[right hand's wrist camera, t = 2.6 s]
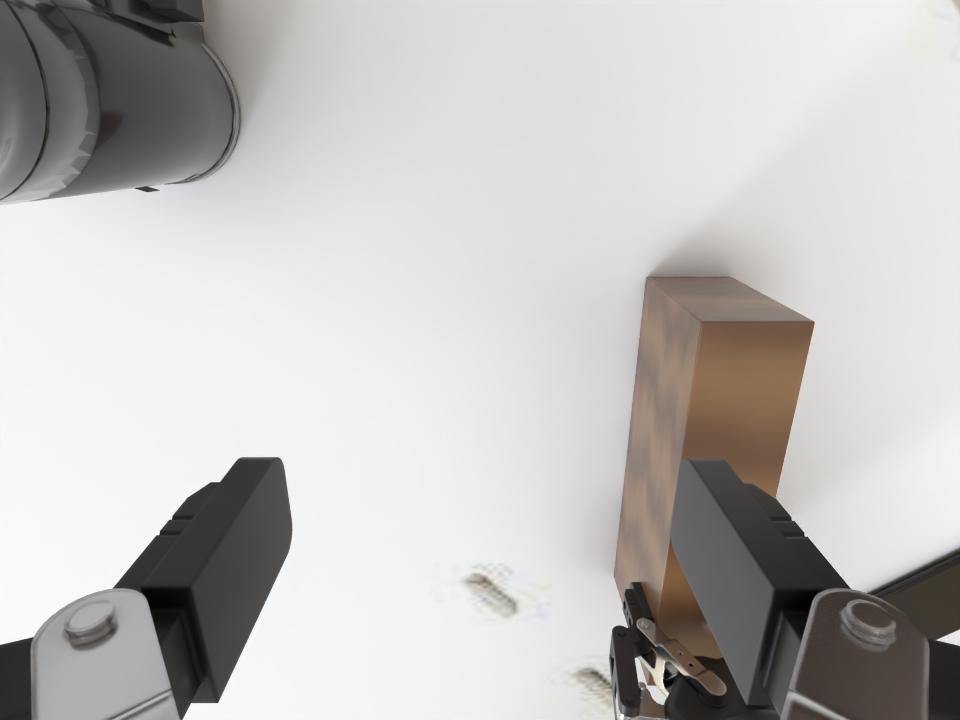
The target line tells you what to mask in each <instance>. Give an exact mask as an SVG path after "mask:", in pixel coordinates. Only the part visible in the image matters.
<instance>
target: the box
mask: <svg viewBox="0 0 960 720" xmlns="http://www.w3.org/2000/svg"><path fill="white" fill-rule="evenodd" d="M813 328H814V321H812V320H810V319H808V318H807V317H805V316H803V315H801V314H799V313H797V312H795V311H793V310H792V309H790V308H788V307H786V306H784V305H782V304H780V303H779V302H777V301H775V300H773V299H771V298H769V297H767V296H765V295H764V294H762V293H760V292H758V291H756V290H754V289H752V288H750V287H749V286H747V285H745V284H743V283H741V282H739V281H737V280H735V279H734V278H732V277H647V278H646V285H645V295H644V304H643V313H642V322H641V332H640V341H639V350H638V359H637V369H636V378H635V387H634V396H633V406H632V415H631V424H630V433H629V443H628V452H627V461H626V470H625V480H624V489H623V498H622V507H621V517H620V526H619V535H618V544H617V554H616V563H615V572H614V578H615V581H616V585H617V588H618V591H619V594H620V598H621V601H622V604H623V602H624V594H625V589H630V582H640V583H641V585H642V588H643V591H644V593H645V596H646V599H647V602H648V604H649V607H650V610H651V613H652V615H653V623H654V624H655V625H656V626H657V627H658V628H659V629H660V630H661V631H662V632H663V633H664V634H665V635H666V636H667V637H668V638H669V639H676V640H678V641H679V642H680V643H681V644H682V645H683V646H684V647H685V648H686V649H687V650H688V651H689V652H690V653H691V654H692V655H693V656H705V657H710V658H715V659H719V658H722V657H723V655H722V653H721V651H720V649H719V647H718V644H717V642H716V640H715V638H714V636H713V634H712V632H711V630H710V628H709V625H708V623H707V621H706V619H705V617H704V615H703V613H702V611H701V609H700V606H699V604H698V602H697V600H696V598H695V596H694V594H693V592H692V590H691V587H690V585H689V583H688V581H687V579H686V577H685V575H684V573H683V571H682V569H681V566H680V564H679V562H678V560H677V558H676V556H675V553H674V550H673V546H672V541H671V518H672V512H673V505H674V498H675V491H676V485H677V478H678V471H679V466H680V463H681V461H682V460H683V459H685V458H722V459H724V460H725V461H726V462H727V463H728V464H729V465H730V467H731V468H732V469H733V470H734V472H735V473H736V474H737V476H738V477H739V478H740V480H741V481H742V482H743V483H753V484H754V485H756V486H757V487H759V488H760V489H762V490H763V491H765V492H766V493H768V494H769V495H771V496H772V497H774V498H775V497H776V493H777V488H778V484H779V479H780V475H781V471H782V466H783V462H784V457H785V453H786V448H787V444H788V439H789V435H790V430H791V426H792V421H793V417H794V413H795V408H796V404H797V399H798V395H799V390H800V386H801V381H802V377H803V372H804V368H805V363H806V359H807V355H808V350H809V346H810V341H811V337H812V332H813ZM640 662H641V661H640ZM641 666H642V669H643V672H644V675H645V679H646V682H647V685H656V684H655V682H654V679H653V675H652V674H651V672H650V671H649V670H648V669H647V668H646V667H645V665H644V664H643V663H642V662H641ZM678 672H679V670H678V669H677V674H678Z"/></svg>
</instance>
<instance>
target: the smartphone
mask: <svg viewBox="0 0 960 720" xmlns="http://www.w3.org/2000/svg"><path fill="white" fill-rule="evenodd" d="M873 596H875V597H878V598H880V599H882V600H884V601H886V602H888V603H890V604H892V605H893V606H895V607H896V608H898V609H900V610H901V611H902V612H904V613H905V614H906V615H908V616H909V617H910V618H911V619H912V620H913V621H914V622H915V623H916V624H917V625H918V626H919V627H920V629H921V630H922V631H923V633H924V634H925V636H926V638H929V639H932V640H937V639H939V638H942V637H944V636H946V635H948V634H951V633H953V632H955V631H957V630H960V554H958V555H956V556H954V557H952V558H949V559H947V560H945V561H943V562H941V563H939V564H937V565H935V566H933V567H931V568H928V569H926V570H924V571H922V572H920V573H918V574H916V575H914V576H912V577H910V578H908V579H905V580H903V581H901V582H899V583H897V584H895V585H893V586H891V587H889V588H887V589H884V590H882V591H880V592H878V593H876V594H874V595H873Z"/></svg>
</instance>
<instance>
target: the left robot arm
mask: <svg viewBox="0 0 960 720" xmlns="http://www.w3.org/2000/svg"><path fill="white" fill-rule="evenodd" d="M623 612H624V615H625V618H626V622H627V625H628V628H626V627H624V626H616V627H614V628H613V630H612V637H611V646H610V655H609V662H610V672H611V682H612V692H613V702H614V712H615V720H780V717H779V715H778V713H777V711H776V709H775V707H774V705H746V703H745V701H744V699H743V697H742V695H741V693H740V691H739V689H738V687H737V685H736V682H735V680H734V678H733V676H732V674H731V672H730V670H729V668H728V666H727V663H726V661H725V659H724V657H722V658H719V659H715V658H710V657H705V656H693V655H692V654H691V653H690V652H689V651H688V650H687V649H686V648H685V647H684V646H683V645H682V644H681V643H680V642H679V641H678V640H676V639H669V638H668V637H667V636H666V635H665V634H664V633H663V632H662V631H661V630H660V629H659V628H658V627H657V626H656V625H655V624H654V623H653V615H652V613H651V610H650V607H649V604H648V602H647V599H646V596H645V593H644V591H643V588H642V585H641V583H640V582H630V589H625V594H624V602H623ZM636 657H637V658H638V659H639V660H640V661H641V662H642V663H643V664H644V665H645V667H646V668H647V669H648V670H649V671H650V672H651V674H652V675H653V679H654V682H655V684H656V685H657V687H658V688H659V689H660V690H661V691H662V692H663V694H664V695H665V696H666V697H667V698H666V701H665V703H664V705H661V704H658V703H656V702H655V701H654V700H653V699H652V697H651V694H650V692H649V691H648V689H646V685H645V684H644V683H643V682H639V683H638V679H637V672H636V665H635V659H634V658H636ZM677 669H678V670H679V672H678V674H677Z"/></svg>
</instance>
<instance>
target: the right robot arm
mask: <svg viewBox="0 0 960 720" xmlns="http://www.w3.org/2000/svg"><path fill="white" fill-rule="evenodd" d="M195 22H204V14H203V8H202V1H201V0H0V205H5V204H13V203H21V202H28V201H37V200H45V199H53V198H60V197H68V196H76V195H84V194H91V193H99V192H107V191H115V190H123V189H130V188H135V189H139V190H142V191H145V192H152V191H160V190H157V189H154V188H150V187H147V186H154V185H160V184H180V183H188V182H194V181H197V180H201V179H203V178H206V177H207V176H209V175H211V174H213V173H214V172H215V171H217V170H218V169H219V168H220V167H221V166H222V165H223V164H224V163H225V162H226V160H227V159H228V158H229V156H230V154H231V153H232V151H233V149H234V146H235V144H236V141H237V137H238V132H239V125H240V112H239V104H238V98H237V95H236V91H235V88H234V85H233V83H232V80H231V78H230V76H229V74H228V72H227V71H226V69H225V67H224V66H223V64H222V63H221V61H220V60H219V59H218V57H217V56H216V55H215V54H214V53H213V52H212V50H211V49H210V48H209V47H208V46H206V44H205V41H204V37H203V31H202V27H201V26H200V25H199V24H197V23H195ZM172 517H173V518H172V520H169V521H168V522H167V523H166V525H165V526H164V527H163V528H162V529H161V531H160V535H157V536H156V537H155V538H154V539H153V540H152V542H151V543H150V544H149V545H148V546H147V548H146V549H145V550H144V551H143V552H142V554H141V555H140V556H139V557H138V559H137V560H136V561H135V562H134V563H133V565H132V566H131V567H130V568H129V569H128V571H127V572H126V573H125V574H124V575H123V577H122V578H121V579H120V580H119V582H118V583H117V584H116V585H115V586H114V588H113V589H108V590H103V591H99V592H96V593H93V594H90V595H87V596H85V597H82V598H80V599H78V600H76V601H74V602H72V603H70V604H68V605H67V606H65V607H64V608H62V609H60V610H59V611H58V612H56V613H55V614H54V615H52V616H51V617H50V618H49V619H48V620H47V621H46V622H45V623H44V624H43V625H42V626H41V627H40V629H39V630H38V631H37V633H36V634H35V636H34V637H32V638H28V639H24V640H20V641H15V642H11V643H7V644H3V645H0V720H182V719H183V717H184V716H185V714H186V712H187V710H188V708H189V706H190V704H191V703H218V702H219V700H220V698H221V695H222V693H223V691H224V689H225V687H226V685H227V683H228V680H229V678H230V676H231V674H232V672H233V670H234V668H235V666H236V663H237V661H238V659H239V657H240V655H241V653H242V651H243V648H244V646H245V644H246V642H247V640H248V638H249V636H250V634H251V631H252V629H253V627H254V625H255V623H256V621H257V619H258V616H259V614H260V612H261V610H262V608H263V606H264V604H265V601H266V599H267V597H268V595H269V593H270V591H271V589H272V587H273V584H274V582H275V580H276V578H277V576H278V574H279V572H280V569H281V567H282V565H283V563H284V561H285V559H286V557H287V554H288V552H289V549H290V544H291V539H292V518H291V511H290V504H289V498H288V491H287V484H286V477H285V470H284V465H283V462H282V460H281V459H280V458H278V457H241V458H239V459H238V460H237V461H236V462H235V463H234V465H233V466H232V467H231V469H230V470H229V471H228V473H227V474H226V475H225V477H224V478H223V479H222V480H221V482H211V483H209V484H208V485H206V486H205V487H203V488H202V489H200V490H199V491H197V492H196V493H194V494H193V495H191V496H190V497H188V498H187V499H186V500H185V502H184V503H183V504H182V505H181V506H180V508H179V509H178V510H177V511H176V512H175V514H174V515H173V516H172ZM671 541H672V546H673V550H674V553H675V556H676V558H677V560H678V562H679V564H680V566H681V569H682V571H683V573H684V575H685V577H686V579H687V581H688V583H689V585H690V587H691V590H692V592H693V594H694V596H695V598H696V600H697V602H698V604H699V606H700V609H701V611H702V613H703V615H704V617H705V619H706V621H707V623H708V625H709V628H710V630H711V632H712V634H713V636H714V638H715V640H716V642H717V644H718V647H719V649H720V651H721V653H722V655H723V657H724V659H725V661H726V663H727V666H728V668H729V670H730V672H731V674H732V676H733V678H734V680H735V682H736V685H737V687H738V689H739V691H740V693H741V695H742V697H743V699H744V701H745V703H746V705H774V707H775V709H776V711H777V713H778V715H779V717H780V720H960V646H958V645H953V644H949V643H945V642H941V641H936V640H932V639H929V638H926V636H925V634H924V633H923V631H922V630H921V629H920V627H919V626H918V625H917V624H916V623H915V622H914V621H913V620H912V619H911V618H910V617H909V616H908V615H906V614H905V613H904V612H902V611H901V610H900V609H898V608H896V607H895V606H893V605H892V604H890V603H888V602H886V601H884V600H882V599H880V598H878V597H875V596H873V595H870V594H867V593H864V592H861V591H857V590H852V589H851V588H850V587H849V586H848V585H847V584H846V582H845V581H844V580H843V579H842V578H841V576H840V575H839V574H838V573H837V572H836V570H835V569H834V568H833V567H832V566H831V564H830V563H829V562H828V561H827V560H826V558H825V557H824V556H823V555H822V554H821V552H820V551H819V550H818V549H817V548H816V546H815V545H814V544H813V543H812V542H811V540H810V539H809V538H808V537H805V536H804V532H803V531H802V530H801V528H800V527H799V526H798V525H797V524H796V522H795V521H792V520H791V516H790V515H789V514H788V513H787V512H786V510H785V509H784V508H783V507H782V506H781V504H780V503H779V502H778V501H777V500H776V499H775V498H774V497H772V496H771V495H769V494H768V493H766V492H765V491H763V490H762V489H760V488H759V487H757V486H756V485H754V484H753V483H743V482H742V481H741V480H740V478H739V477H738V476H737V474H736V473H735V472H734V470H733V469H732V468H731V467H730V465H729V464H728V463H727V462H726V461H725V460H724V459H722V458H685V459H683V460H682V461H681V463H680V466H679V471H678V478H677V485H676V491H675V498H674V505H673V512H672V518H671Z"/></svg>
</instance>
